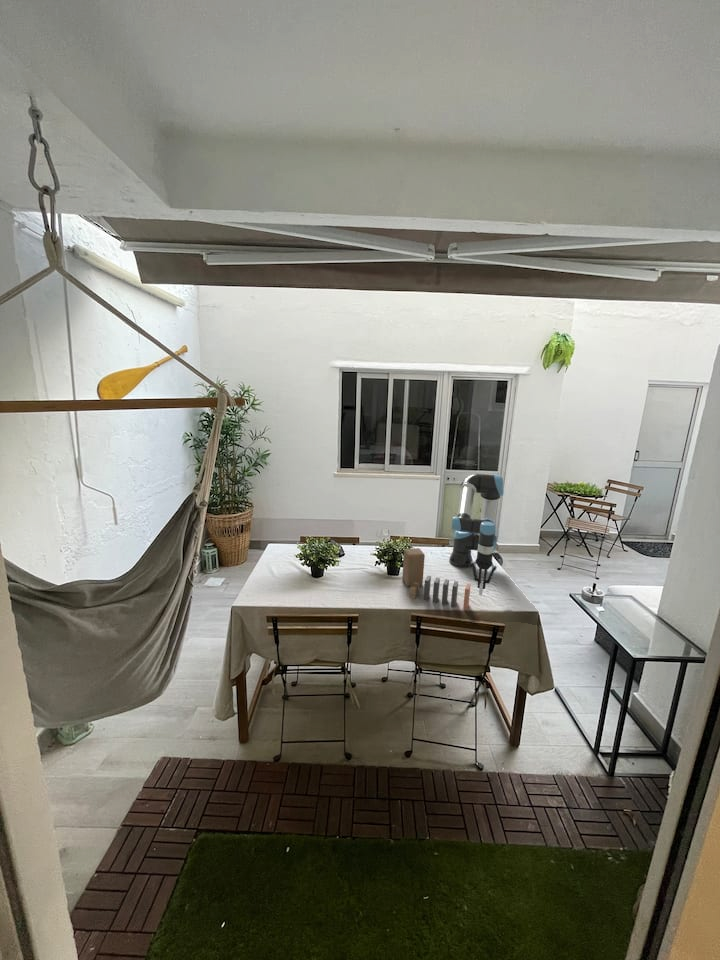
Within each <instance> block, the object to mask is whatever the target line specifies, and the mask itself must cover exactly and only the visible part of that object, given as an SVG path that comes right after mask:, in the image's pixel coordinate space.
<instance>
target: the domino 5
mask: <svg viewBox="0 0 720 960" xmlns="http://www.w3.org/2000/svg"><path fill="white" fill-rule="evenodd" d="M470 595H471V583H466V585H465V589H464V595H463V596H464V597H463V604H462V605H463V606H462V607H463V608H462V609H463V610H465V611H468V608H469V605H470Z"/></svg>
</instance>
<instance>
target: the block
mask: <svg viewBox="0 0 720 960" xmlns="http://www.w3.org/2000/svg"><path fill="white" fill-rule="evenodd" d="M424 570H425V553H424V552H423V551H422V549H421V548H419V547H417V548H416V547H414V548H404V549H403V564H402V580H403V582H404V585H406V586H407V587H411V586H412V584H413V583H414V582H418V583H419V586H423V583H424Z"/></svg>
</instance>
